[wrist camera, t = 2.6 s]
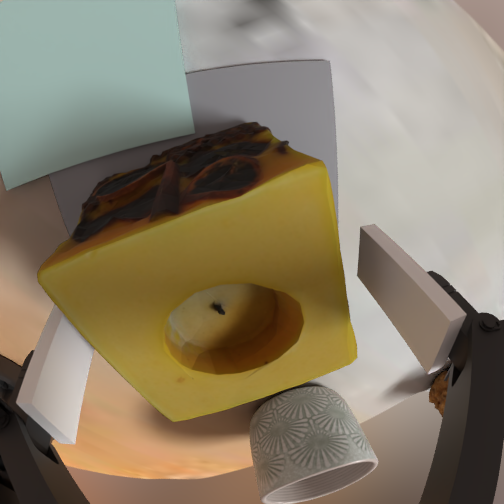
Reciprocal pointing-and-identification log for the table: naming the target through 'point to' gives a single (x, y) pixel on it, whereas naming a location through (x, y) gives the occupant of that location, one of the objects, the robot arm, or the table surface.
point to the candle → (210, 273)
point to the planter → (307, 446)
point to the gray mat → (228, 123)
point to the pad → (87, 82)
